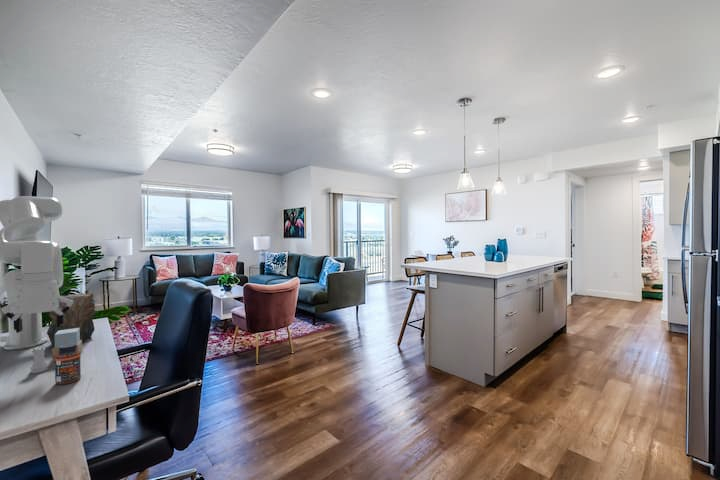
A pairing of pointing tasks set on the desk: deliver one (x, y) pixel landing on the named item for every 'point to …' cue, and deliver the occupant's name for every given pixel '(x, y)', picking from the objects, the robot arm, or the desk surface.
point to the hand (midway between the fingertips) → (39, 329)
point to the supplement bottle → (67, 364)
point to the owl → (75, 317)
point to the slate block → (67, 337)
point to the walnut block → (56, 351)
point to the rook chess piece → (39, 361)
